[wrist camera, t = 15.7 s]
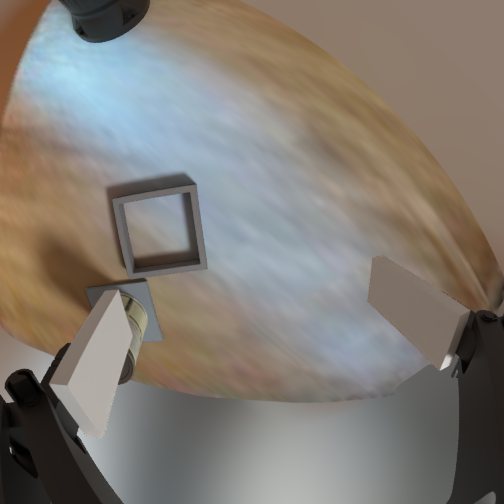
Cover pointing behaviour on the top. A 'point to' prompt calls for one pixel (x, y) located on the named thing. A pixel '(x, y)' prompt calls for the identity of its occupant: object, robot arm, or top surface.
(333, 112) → the top surface
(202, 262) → the collar
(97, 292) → the slate mat
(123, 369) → the coffee can
